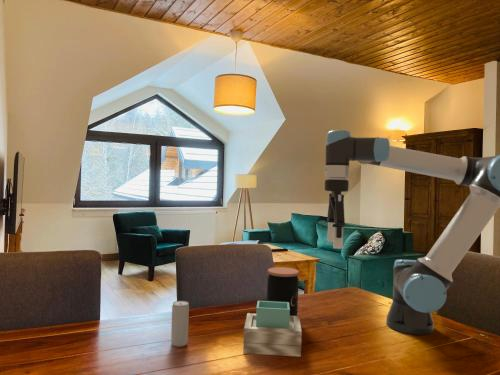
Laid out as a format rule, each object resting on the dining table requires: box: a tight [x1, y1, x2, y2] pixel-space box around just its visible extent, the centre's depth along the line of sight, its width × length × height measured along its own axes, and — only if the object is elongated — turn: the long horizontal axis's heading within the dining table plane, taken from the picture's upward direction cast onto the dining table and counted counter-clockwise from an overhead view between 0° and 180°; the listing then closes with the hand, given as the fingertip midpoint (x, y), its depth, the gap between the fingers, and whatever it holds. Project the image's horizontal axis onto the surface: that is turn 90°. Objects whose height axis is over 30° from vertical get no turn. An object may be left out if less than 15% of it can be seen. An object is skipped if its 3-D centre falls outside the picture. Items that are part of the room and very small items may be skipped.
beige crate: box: [242, 312, 303, 358], centre depth 120 cm, size 16×13×7 cm
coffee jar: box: [266, 266, 300, 316], centre depth 140 cm, size 11×11×18 cm
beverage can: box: [170, 300, 190, 348], centre depth 119 cm, size 5×5×12 cm
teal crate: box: [255, 300, 290, 329], centre depth 120 cm, size 10×7×6 cm
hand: (334, 245), depth 131 cm, fingers open, 13 cm apart
